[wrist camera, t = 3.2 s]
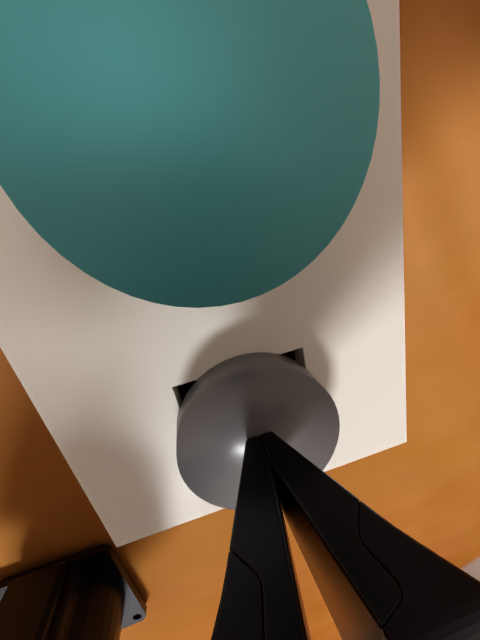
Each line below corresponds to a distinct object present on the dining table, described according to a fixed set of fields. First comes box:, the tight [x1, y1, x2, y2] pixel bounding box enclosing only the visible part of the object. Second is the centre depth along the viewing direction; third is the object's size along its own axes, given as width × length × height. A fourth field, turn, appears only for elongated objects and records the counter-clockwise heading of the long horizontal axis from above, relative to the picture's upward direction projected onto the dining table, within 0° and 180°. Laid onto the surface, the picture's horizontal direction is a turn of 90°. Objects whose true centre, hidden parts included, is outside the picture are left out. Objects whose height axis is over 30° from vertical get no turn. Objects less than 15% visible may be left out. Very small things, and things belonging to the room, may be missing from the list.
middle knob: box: [0, 0, 380, 308], centre depth 6 cm, size 5×5×5 cm
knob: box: [176, 352, 340, 509], centre depth 11 cm, size 5×5×5 cm
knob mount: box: [0, 0, 407, 547], centre depth 9 cm, size 23×12×4 cm, turn 13°
